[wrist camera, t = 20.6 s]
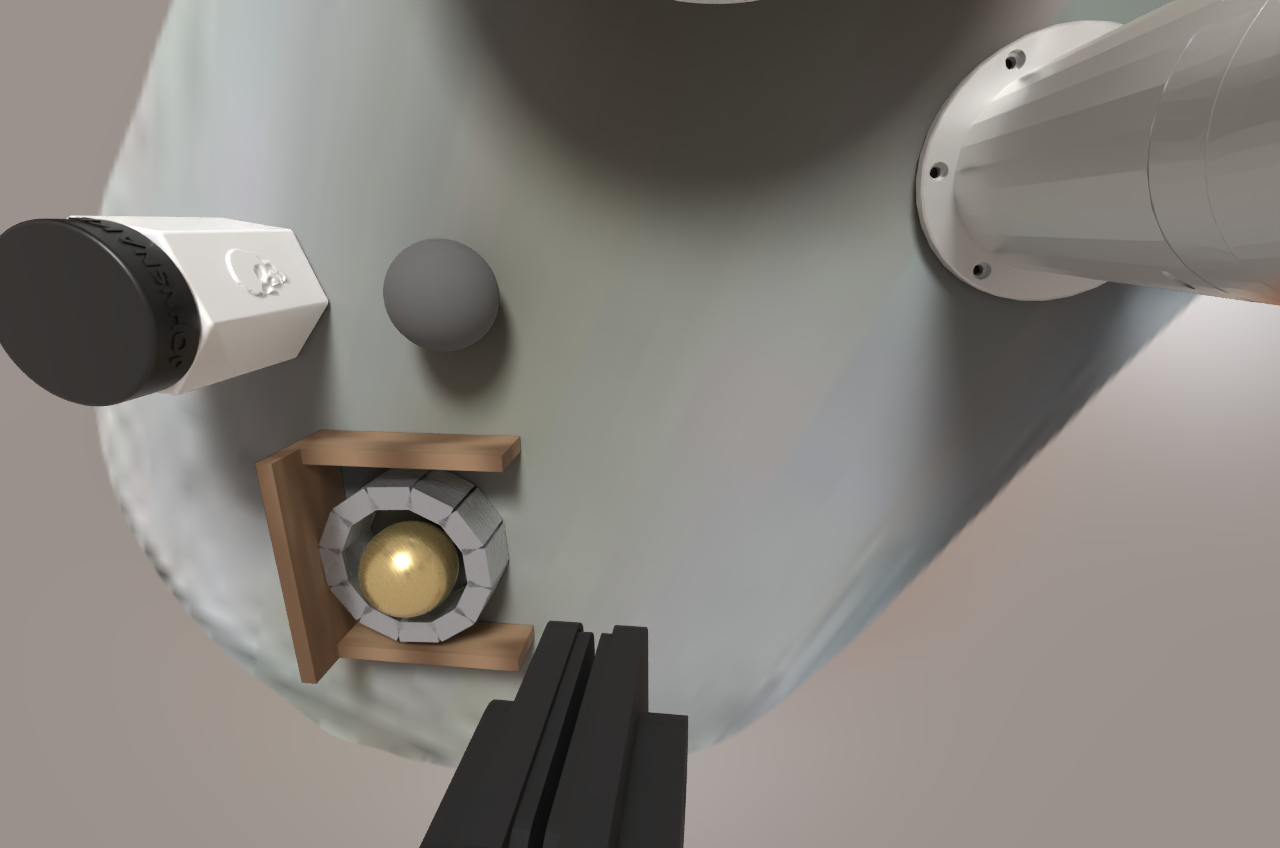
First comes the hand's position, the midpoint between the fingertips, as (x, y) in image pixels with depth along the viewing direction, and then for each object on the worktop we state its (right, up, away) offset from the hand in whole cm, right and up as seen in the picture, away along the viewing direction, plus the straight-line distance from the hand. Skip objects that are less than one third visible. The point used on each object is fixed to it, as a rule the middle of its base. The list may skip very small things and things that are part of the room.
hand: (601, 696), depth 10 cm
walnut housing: (-14, -3, +31) cm, 34 cm away
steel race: (-14, -3, +31) cm, 35 cm away
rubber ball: (-10, +12, +23) cm, 28 cm away
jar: (-23, +13, +28) cm, 38 cm away
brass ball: (-14, -5, +29) cm, 32 cm away
